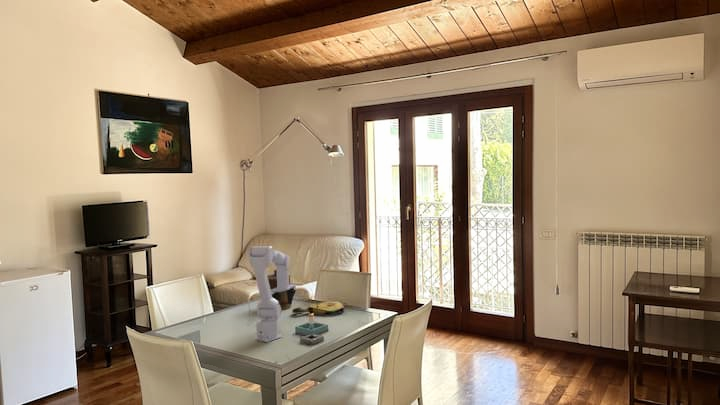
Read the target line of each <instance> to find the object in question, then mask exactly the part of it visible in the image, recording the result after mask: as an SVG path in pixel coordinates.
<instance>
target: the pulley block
mask: <svg viewBox="0 0 720 405" xmlns="http://www.w3.org/2000/svg"><path fill="white" fill-rule="evenodd" d="M346 304H347V302H342V301H324V302H318V303H312V304H309V305H308V307H302V306H299V307H296V308H293V309H292V311H291V312H292V314H297V313H299V314H300V313H301V314H302V313H308V314H310V313H313V314H314V316H315V315H316V316H322V315H323V317H325V316H326V317H327V315H333V316H337V315H336V314H338V315H340V313H341V314H343V313H344V312H345V309H346V308H345V305H346Z"/></svg>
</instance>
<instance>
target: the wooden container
mask: <svg viewBox="0 0 720 405" xmlns="http://www.w3.org/2000/svg"><path fill="white" fill-rule="evenodd" d="M288 276H289V285H291V275H290V274H288ZM267 277H268V281H269V285H270V289H274V288H277V268H275V270H273V273H272V274H267ZM278 293H279V294H281V296H280V306H281V311H285V310H288V309H291V307H292V304H288V299H287V293H286V291H282V292H278Z"/></svg>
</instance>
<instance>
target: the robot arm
mask: <svg viewBox="0 0 720 405" xmlns="http://www.w3.org/2000/svg"><path fill="white" fill-rule="evenodd" d="M247 256H248V260H249V264H250V267H252V269H253V273H254V277H255V280H256V285H257V289H258V292H259V297H260V300H259V301H258V303H257V306H256V308H257V309H256V313H257V316H258V318H259V320H260V321H257V323H256V326H255V327H256V337H255V340H258V341H261V342H265V343H268V342H272V341H274V340H277V339H280V338H283V335H281V334H279V322H278V320H279V318H280V317H281V314H282V310H281V306H280V296H281V294H279V293H278V292H282V291H286V293H287V299H288V304H291V305H292V304H293V299H294V297H295V296H294V295H295V294H296V292H297V291H296V288H297V287H296V286H297V285H296V284H290V285H289V276H288V275H289V269H290V262H291V259H290V258H291V257H290V256H289V255H288V254H285V253H283V252H280V249H275V250H274V247H273V246H271V245H269V246H265V245H264V246H254V245H252V246H251V245H250V248H249V250H248V255H247ZM271 263H274V266H276V269H277V288H274V289H270V285H269V281H268V277H267V275H268V273H267V269H268V268H270V266H271Z"/></svg>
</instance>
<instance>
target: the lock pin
mask: <svg viewBox="0 0 720 405" xmlns="http://www.w3.org/2000/svg"><path fill="white" fill-rule="evenodd" d="M308 322H309V329H310V330H313V329H315V328H314V322H315V315H314V314H313V313H308Z"/></svg>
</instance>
